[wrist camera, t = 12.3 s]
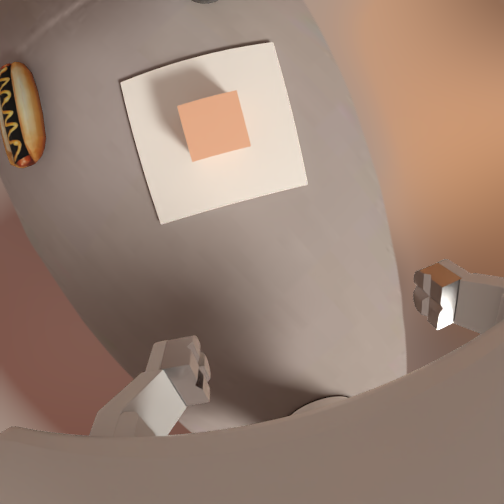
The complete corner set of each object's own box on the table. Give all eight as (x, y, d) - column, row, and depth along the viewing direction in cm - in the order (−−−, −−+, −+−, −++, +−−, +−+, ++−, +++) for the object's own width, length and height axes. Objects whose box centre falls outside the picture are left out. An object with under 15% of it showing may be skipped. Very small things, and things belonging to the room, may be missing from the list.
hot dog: (39, 57, 20) (17, 49, 15) (61, 151, 25) (37, 155, 20) (10, 79, 20) (-13, 75, 15) (31, 170, 25) (7, 177, 20)
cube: (244, 145, 27) (251, 146, 23) (196, 158, 27) (192, 162, 22) (232, 98, 25) (236, 90, 21) (183, 112, 25) (176, 105, 20)
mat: (306, 183, 30) (307, 184, 29) (161, 223, 30) (161, 224, 29) (271, 43, 24) (272, 42, 23) (122, 83, 23) (120, 82, 23)
